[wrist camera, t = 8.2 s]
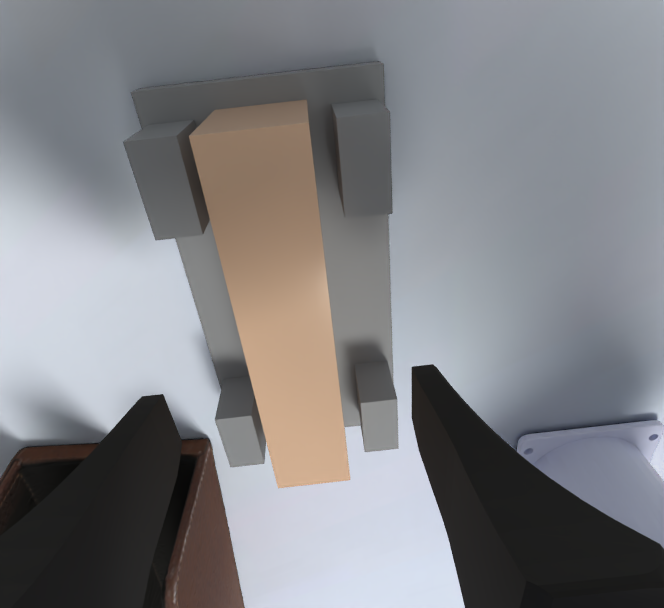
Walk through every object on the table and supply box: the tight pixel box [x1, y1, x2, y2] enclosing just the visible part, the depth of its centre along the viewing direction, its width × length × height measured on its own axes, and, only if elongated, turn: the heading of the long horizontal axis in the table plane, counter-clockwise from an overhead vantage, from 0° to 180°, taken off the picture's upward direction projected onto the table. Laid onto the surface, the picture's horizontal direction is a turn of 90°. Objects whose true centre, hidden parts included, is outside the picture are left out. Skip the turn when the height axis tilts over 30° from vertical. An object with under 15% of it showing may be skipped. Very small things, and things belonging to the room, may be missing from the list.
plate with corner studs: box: [123, 61, 398, 467], centre depth 18 cm, size 16×8×4 cm, turn 6°
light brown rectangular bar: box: [189, 99, 350, 488], centre depth 17 cm, size 14×3×4 cm, turn 5°
